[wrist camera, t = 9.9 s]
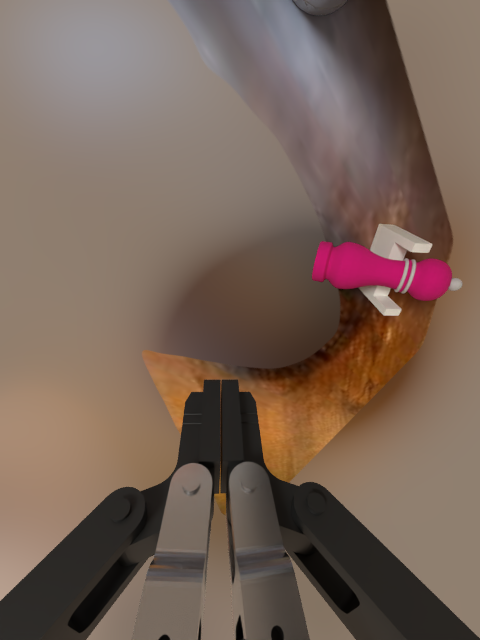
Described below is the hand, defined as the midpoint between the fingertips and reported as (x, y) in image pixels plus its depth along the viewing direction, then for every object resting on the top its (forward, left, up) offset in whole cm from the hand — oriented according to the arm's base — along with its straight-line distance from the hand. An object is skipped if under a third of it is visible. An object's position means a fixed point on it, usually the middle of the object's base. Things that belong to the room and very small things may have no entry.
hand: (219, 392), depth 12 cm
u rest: (+6, +27, -35) cm, 45 cm away
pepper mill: (+6, +16, -32) cm, 36 cm away
